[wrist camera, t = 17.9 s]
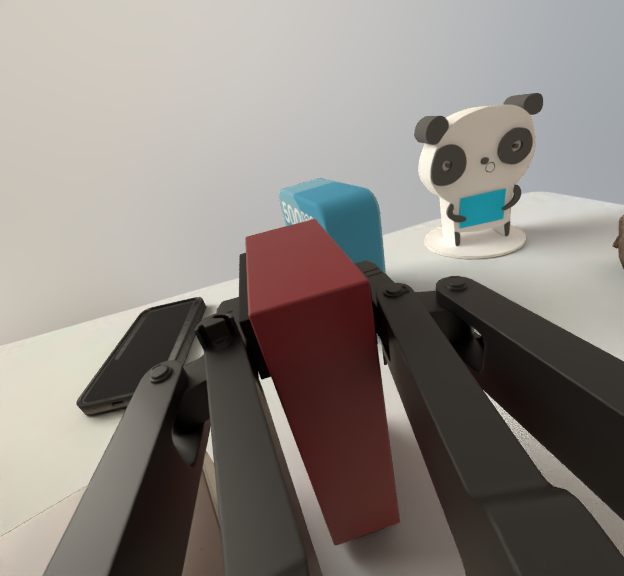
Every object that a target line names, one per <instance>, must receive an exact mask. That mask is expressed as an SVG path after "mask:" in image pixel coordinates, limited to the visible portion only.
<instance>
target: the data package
mask: <svg viewBox="0 0 624 576" xmlns="http://www.w3.org/2000/svg"><path fill="white" fill-rule="evenodd" d="M279 198H280V204H281V207H282V212H283V215H284V219H285V223H286V226H289V225H293V224H297V223H300V222H304V221H308V220H312V219H316V220H317V222H318V223H319V224H320V225H321V226H322V227H323V228H324V230H325V231H326V232H327V233H328V234H329V235H330V236H331V238H332V239H333V240H334V241H335V242H336V243H337V245H338V246H339V247H340V248H341V249H342V250H343V251H344V253H345V254H346V255H347V256H348V257H349V258H350V259H351V261H352V262H353V263H358V262H361V261H365V260H367V261H370V262H373V263H375V264H376V265H377V266H378V267H379V269H381V270H382V271H383V273H385V274H386V271H385V260H384V249H383V239H382V228H381V218H380V209H379V205H378V202H377V200H376V198H375V196H374V194H373V193H372V192H371V191H370V190H369V189H366V188H362V187H358V186H354V185H349V184H345V183H340V182H335V181H331V180H326V179H322V178H318V179H315V180H311V181H308V182H305V183H301V184H297V185H294V186H291V187H287V188H284V189H281V190H280V193H279Z"/></svg>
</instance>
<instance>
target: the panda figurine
mask: <svg viewBox="0 0 624 576" xmlns="http://www.w3.org/2000/svg"><path fill="white" fill-rule="evenodd" d="M542 106H543V97H542V95H541V94H539V93H533V94H524V95H516V96H511V97H509V98H507V99H506V100H505V102H504V104H503V105H495V106H481V107H473V108H469V109H465V110H462V111H459V112H457V113H454V114H452V115H450V116H448V117H447V118H445V117H443V116H426V117H424V118H422V119H421V120H420V121H419V122H418V123H417V125H416V128H415V134H414V136H415V138H416V140H417V141H418V142H421V143H425V144H424V147H423V150H422V152H421V155H420V160H419V177H420V179H421V181H422V182H423V184H424V185H425V187H426V188H427V189H428V190H429V191H430V192H432V193H433V194H435V195H437V196H439V198H440V209H441V220H442V226H440V227H438V228H435V229H433V230H432V231H430V232H429V233H428V234H427V235H426V236H425V239H424V242H425V246H426V247H427V248H428V249H429V250H431V251H432V252H434V253H437V254H439V255H443V256H447V257H452V258H461V259H483V258H492V257H498V256H502V255H506V254H509V253H512V252H514V251H516V250H518V249H519V248H521V247H522V246H523V245H524V244H525V241H526V234H525V233H524V231H522V230H521V229H520V228H518V227H516V226H513V225H510V214H511V207H512V206H513V205H515V204H516V203H517V202H518V200H519V199H520V196H521V189H520V187H519V186H518V185H515V184H516V183H517V182H518V181H519V180H520V179H521V178H522V177H523V175H524V174H525V172H526V171H527V169H528V167H529V165H530V163H531V161H532V158H533V155H534V150H535V130H534V125H533V121H532V118H531V116H530V115H533V114H537V113H538V112H540V111H541V109H542ZM513 188H514V189H513ZM513 193H514V195H513ZM512 197H513V198H512Z"/></svg>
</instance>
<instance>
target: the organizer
mask: <svg viewBox="0 0 624 576" xmlns="http://www.w3.org/2000/svg"><path fill="white" fill-rule="evenodd" d="M87 486H88V485H87ZM87 486H85V487H84V488H82V489H80V490H79V491H77V492H75V493H74V494H72V495H70V496H69V497H67V498H65V499H63V500H62V501H60V502H58V503H57V504H55V505H53V506H52V507H50V508H48V509H47V510H45V511H43V512H41V513H40V514H38V515H36V516H35V517H33V518H31V519H30V520H28V521H26V522H24V523H23V524H21V525H19V526H18V527H16V528H14V529H13V530H11V531H9V532H8V533H6V534H4V535H2V536H1V537H0V576H42V575H43V573H44V571H45V569H46V567H47V565H48V564H49V562H50V560H51V558H52V556H53V554H54V552H55V550H56V548H57V546H58V544H59V542H60V540H61V538H62V536H63V534H64V532H65V530H66V528H67V526H68V524H69V522H70V520H71V518H72V516H73V514H74V512H75V510H76V508H77V506H78V504H79V502H80V500H81V498H82V496H83V494H84V492H85V490H86V488H87ZM182 576H224V566H223V555H222V545H221V534H220V523H219V512H218V501H217V490H216V479H215V468H214V463H213V461H212V459H211V458H210V456H209V455H208V453H207V451H206V453H205V458H204V463H203V468H202V473H201V479H200V484H199V489H198V494H197V500H196V505H195V510H194V515H193V520H192V526H191V531H190V536H189V541H188V546H187V552H186V557H185V562H184V567H183V573H182Z"/></svg>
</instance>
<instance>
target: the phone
mask: <svg viewBox="0 0 624 576" xmlns="http://www.w3.org/2000/svg"><path fill="white" fill-rule="evenodd" d="M205 308H206V306H205V303H204V301H203V299H202V298H201V297H195V298H191V299H186V300H182V301H178V302H173V303H169V304H165V305H160V306H156V307H152V308H149V309H146V310H144V311H143V312H142V313H140V315H139V316H138V317H137V319H136V320H135V321H134V323H133V324H132V326H131V327H130V328H129V330H128V331H127V332H126V334H125V335H124V337H123V338H122V339H121V341H120V342H119V343H118V345H117V346H116V348H115V349H114V350H113V352H112V353H111V354H110V356H109V357H108V358H107V360H106V361H105V363H104V364H103V365H102V367H101V368H100V369H99V371H98V372H97V374H96V375H95V376H94V378H93V379H92V380H91V382H90V383H89V385H88V386H87V387H86V389H85V390H84V391H83V393H82V394H81V396H80V397H79V398H78V400H77V406H78V407H79V408H80V409H81V410H82V411H83V413H84V414H85V415H95V414H99V413H104V412H108V411H112V410H117V409H121V408H126V407H128V405H129V403H130V401H131V399H132V397H133V395H134V393H135V391H136V389H137V387H138V385H139V383H140V381H141V379H142V378H143V376H144V375H145V374H146V373H147V372H148V371H149V370H150V369H151V368H153V367H154V366H156V365H158V364H160V363H162V362H165V361H169V360H176V361H179V362H180V363H181V364H182V366H183V364H184V361H185V359H186V356H187V354H188V351H189V349H190V346H191V344H192V341H193V338H194V336H195V332H194V331H195V328H196V326H197V325H198V324H199V322H200V321H201V318H202V316H203V313H204V311H205Z"/></svg>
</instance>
